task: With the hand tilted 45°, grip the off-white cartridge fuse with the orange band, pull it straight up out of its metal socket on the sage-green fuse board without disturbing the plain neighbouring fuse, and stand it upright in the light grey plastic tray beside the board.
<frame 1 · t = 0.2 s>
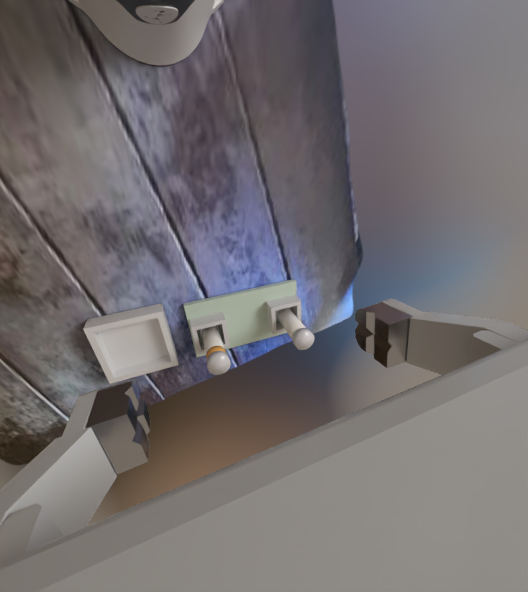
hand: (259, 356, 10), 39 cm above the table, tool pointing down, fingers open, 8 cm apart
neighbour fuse: (281, 310, 56), point 1 cm above the table, touching fuse board
parts tray: (136, 338, 50), on the table
marked fuse: (209, 328, 53), point 1 cm above the table, touching fuse board
fuse board: (245, 316, 55), on the table
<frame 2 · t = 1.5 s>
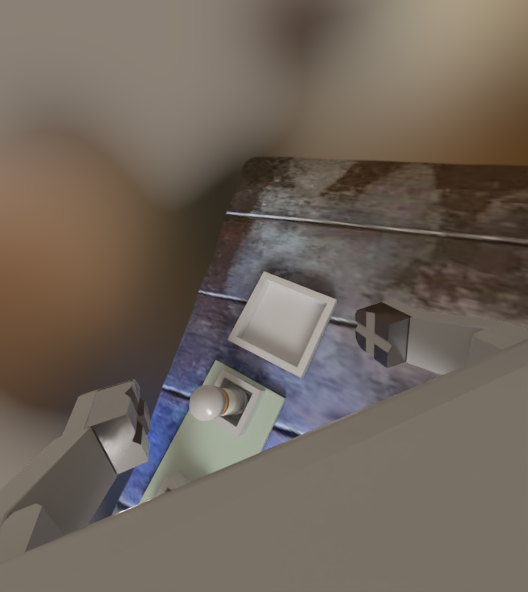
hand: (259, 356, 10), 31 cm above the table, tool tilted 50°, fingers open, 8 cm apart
parts tray: (284, 325, 42), on the table
marked fuse: (237, 400, 39), point 1 cm above the table, touching fuse board
fuse board: (214, 451, 38), on the table
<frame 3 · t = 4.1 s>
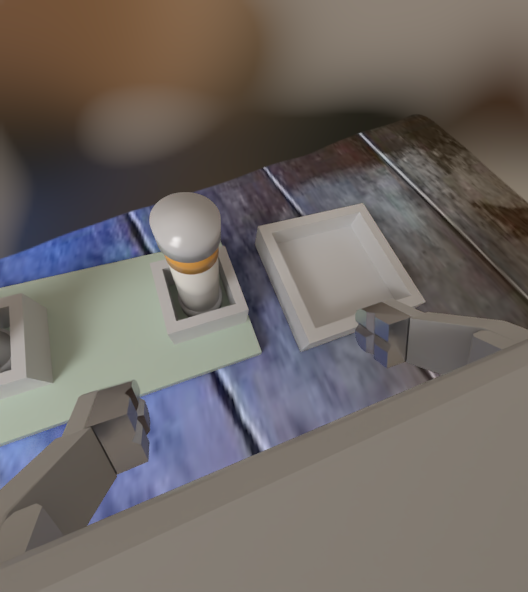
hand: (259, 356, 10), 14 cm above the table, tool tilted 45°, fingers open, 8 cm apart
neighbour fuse: (2, 357, 20), point 1 cm above the table, touching fuse board
parts tray: (329, 278, 28), on the table
marked fuse: (201, 301, 24), point 1 cm above the table, touching fuse board
fuse board: (115, 330, 23), on the table
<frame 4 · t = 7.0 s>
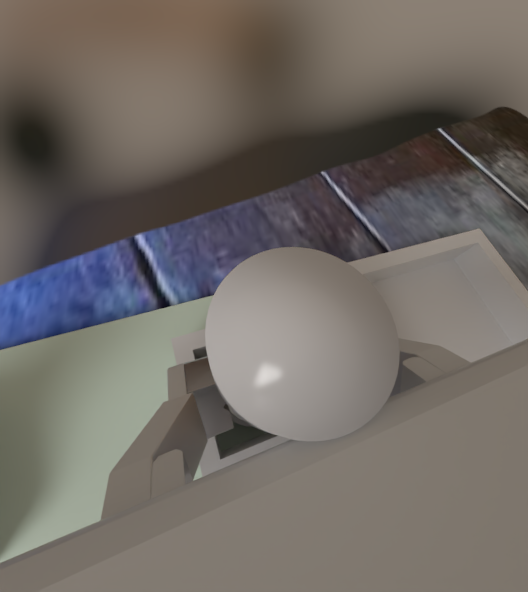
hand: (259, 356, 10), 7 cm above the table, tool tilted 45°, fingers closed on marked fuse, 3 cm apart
parts tray: (431, 341, 19), on the table
marked fuse: (250, 389, 15), point 1 cm above the table, touching fuse board, gripper
fuse board: (109, 441, 14), on the table
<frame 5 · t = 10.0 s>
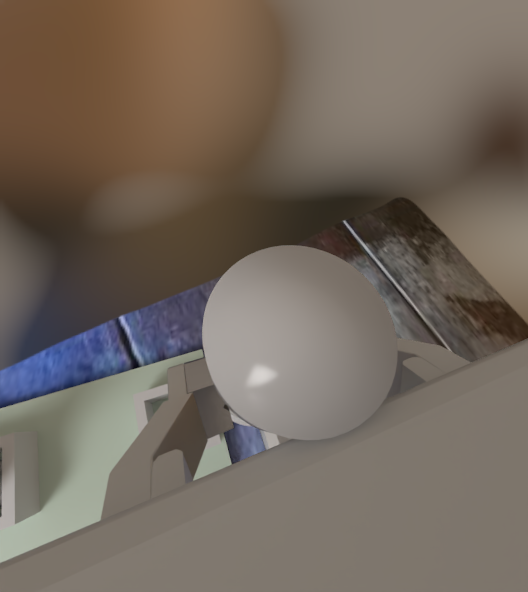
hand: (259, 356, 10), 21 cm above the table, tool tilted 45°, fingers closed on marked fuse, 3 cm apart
parts tray: (303, 385, 30), on the table
marked fuse: (249, 388, 15), point 15 cm above the table, touching gripper
fuse board: (99, 448, 25), on the table
when the fingers open (8 cm above the table, at t = 13.4 s): marked fuse drops 1 cm, resting on parts tray.
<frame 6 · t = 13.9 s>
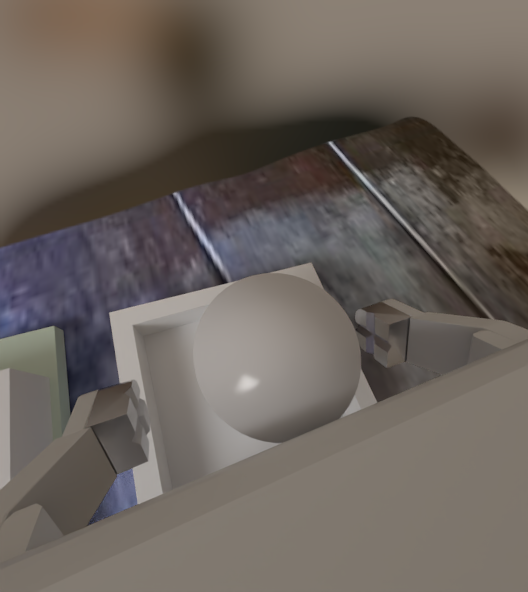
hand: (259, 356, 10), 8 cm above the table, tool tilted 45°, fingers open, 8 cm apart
parts tray: (247, 392, 17), on the table
marked fuse: (244, 392, 16), point 1 cm above the table, touching parts tray
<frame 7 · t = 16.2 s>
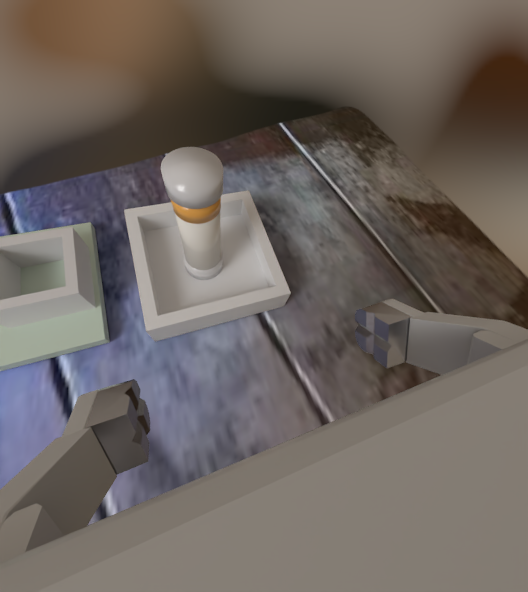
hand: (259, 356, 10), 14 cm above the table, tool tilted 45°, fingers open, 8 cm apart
parts tray: (207, 267, 27), on the table
marked fuse: (204, 263, 26), point 1 cm above the table, touching parts tray
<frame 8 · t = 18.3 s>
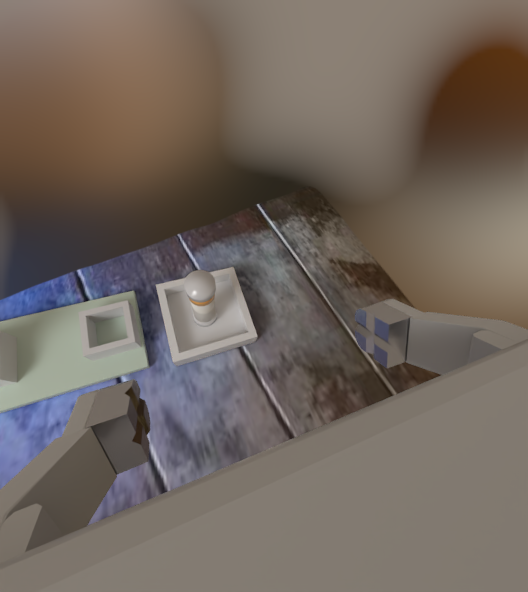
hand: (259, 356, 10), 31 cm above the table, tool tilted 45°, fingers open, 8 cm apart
parts tray: (207, 317, 43), on the table
marked fuse: (205, 315, 42), point 1 cm above the table, touching parts tray
fuse board: (59, 350, 38), on the table
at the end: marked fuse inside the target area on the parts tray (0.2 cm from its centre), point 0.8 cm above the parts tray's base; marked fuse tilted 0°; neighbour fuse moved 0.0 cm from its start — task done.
